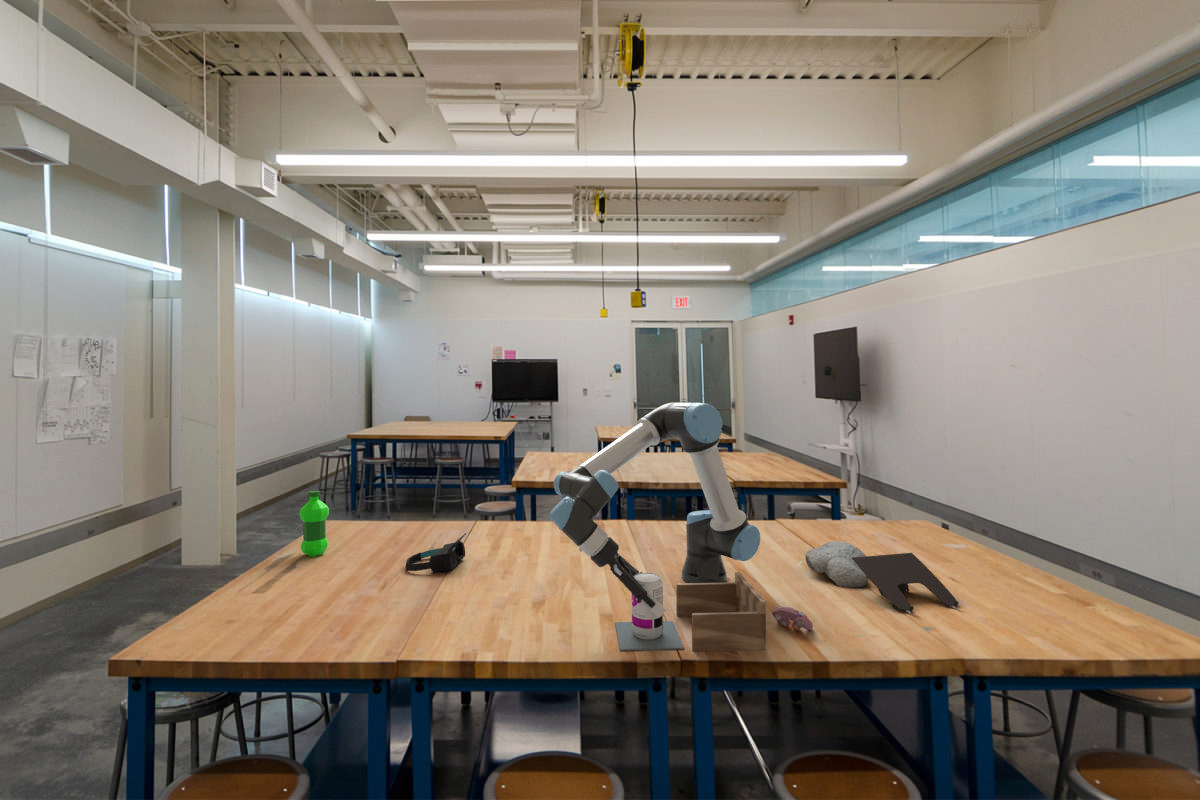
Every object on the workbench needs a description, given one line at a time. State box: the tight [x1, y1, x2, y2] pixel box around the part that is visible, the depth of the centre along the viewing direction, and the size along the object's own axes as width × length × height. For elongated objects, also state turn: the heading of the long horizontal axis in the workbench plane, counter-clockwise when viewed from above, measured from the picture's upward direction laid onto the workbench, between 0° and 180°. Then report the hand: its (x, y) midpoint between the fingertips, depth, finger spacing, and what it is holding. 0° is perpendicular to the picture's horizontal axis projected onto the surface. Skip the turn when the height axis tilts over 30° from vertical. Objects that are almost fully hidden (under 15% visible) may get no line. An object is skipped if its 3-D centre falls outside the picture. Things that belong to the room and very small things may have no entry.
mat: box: [614, 620, 685, 652], centre depth 145 cm, size 16×16×1 cm
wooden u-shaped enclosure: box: [675, 571, 767, 652], centre depth 148 cm, size 22×18×12 cm
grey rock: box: [805, 540, 868, 589], centre depth 194 cm, size 28×21×9 cm
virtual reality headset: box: [405, 532, 467, 573], centre depth 204 cm, size 19×22×10 cm
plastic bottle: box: [298, 490, 330, 557], centre depth 218 cm, size 10×10×25 cm
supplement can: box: [631, 572, 664, 640], centre depth 145 cm, size 8×8×15 cm
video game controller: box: [771, 605, 814, 632], centre depth 149 cm, size 10×5×7 cm, turn 46°
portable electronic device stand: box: [852, 552, 959, 615], centre depth 171 cm, size 23×23×9 cm
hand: (659, 605), depth 145 cm, fingers open, 10 cm apart
